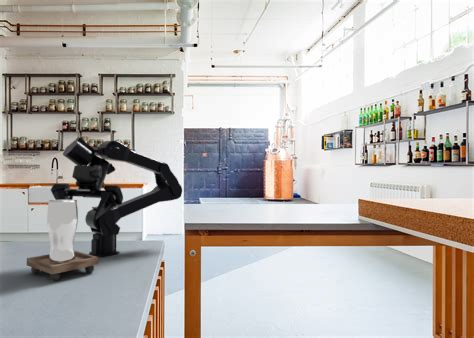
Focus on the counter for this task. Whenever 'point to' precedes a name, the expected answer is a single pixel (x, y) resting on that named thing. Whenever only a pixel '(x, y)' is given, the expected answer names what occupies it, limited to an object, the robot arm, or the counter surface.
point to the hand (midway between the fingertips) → (78, 218)
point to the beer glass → (62, 229)
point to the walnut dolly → (62, 264)
